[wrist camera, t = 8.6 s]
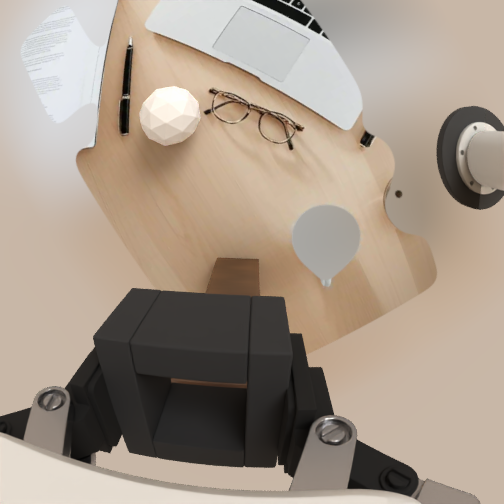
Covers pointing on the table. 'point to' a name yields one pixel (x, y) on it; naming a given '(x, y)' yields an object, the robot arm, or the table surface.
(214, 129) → the table surface
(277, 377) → the dark grey square frame
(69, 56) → the table surface
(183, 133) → the geometric ball
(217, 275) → the stand
